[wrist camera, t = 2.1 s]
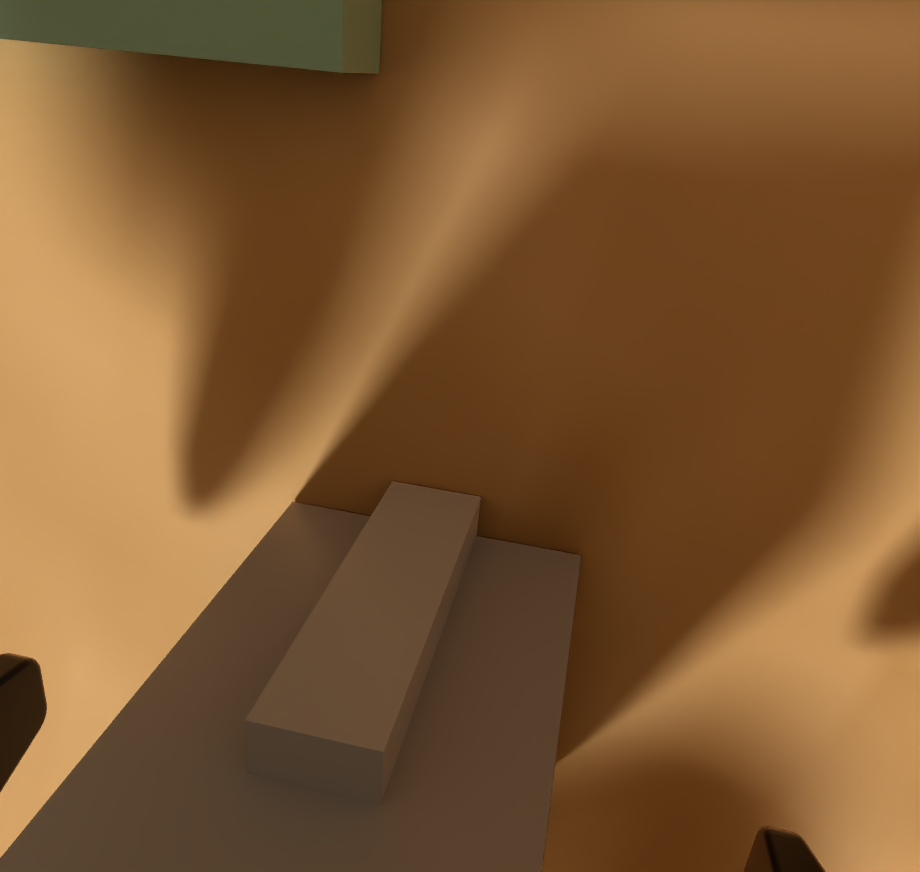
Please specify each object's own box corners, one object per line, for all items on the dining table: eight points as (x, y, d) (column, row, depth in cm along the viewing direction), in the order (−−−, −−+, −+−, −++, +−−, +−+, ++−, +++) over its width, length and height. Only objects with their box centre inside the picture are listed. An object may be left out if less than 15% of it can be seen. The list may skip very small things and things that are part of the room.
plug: (293, 719, 13) (25, 1212, 7) (292, 463, 11) (-76, 871, 5) (541, 775, 12) (458, 1360, 7) (588, 515, 10) (525, 1038, 5)
